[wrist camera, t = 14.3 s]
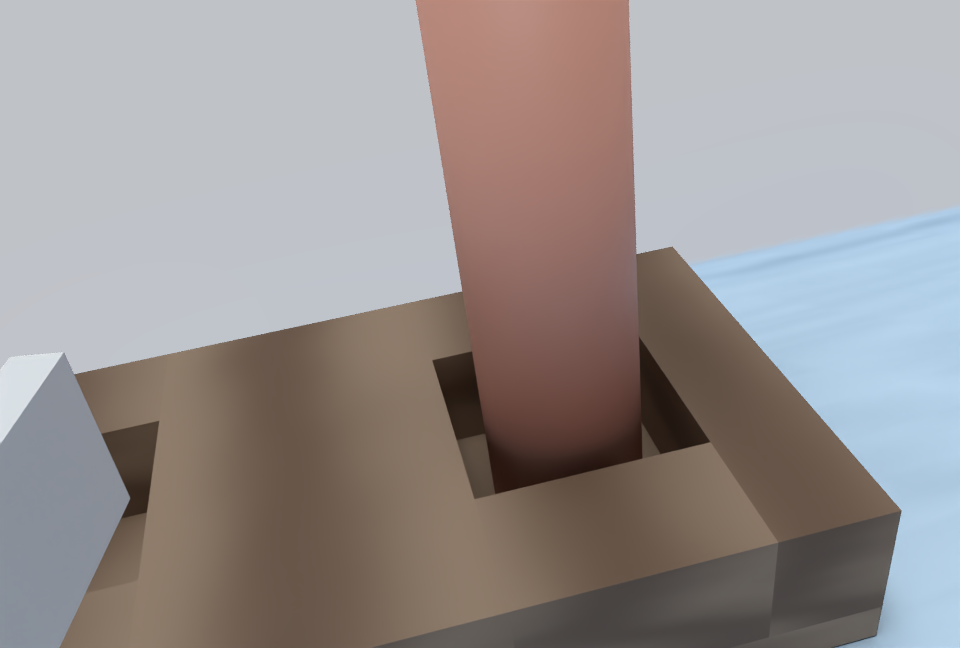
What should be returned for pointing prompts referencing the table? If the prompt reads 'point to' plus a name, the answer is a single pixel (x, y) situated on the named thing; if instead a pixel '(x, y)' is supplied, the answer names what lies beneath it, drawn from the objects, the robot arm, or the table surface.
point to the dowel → (542, 224)
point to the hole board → (475, 498)
